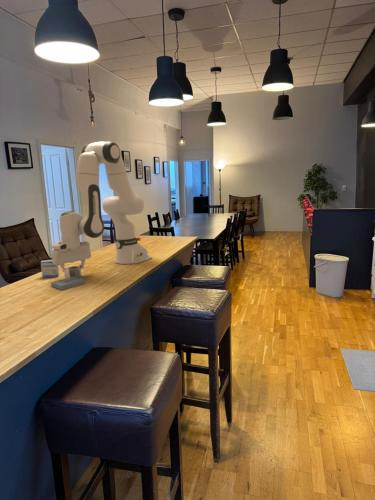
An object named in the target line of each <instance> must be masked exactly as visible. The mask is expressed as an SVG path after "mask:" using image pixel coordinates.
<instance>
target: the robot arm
mask: <svg viewBox="0 0 375 500" xmlns="http://www.w3.org/2000/svg"><path fill="white" fill-rule="evenodd" d="M101 164H102V165H103V164H104V169H105V175H106V179H107V185H108V187H109V189H111V191H113V192H115V193H116V194H117V195H112V196H108V197H105V198H104V199H103V201H102V199H101V198H102V197H101V190H100V165H101ZM76 185H77V188H78V189H79V190H80V191H81V192H82V193H83V194H84V195H85V197H86V199H87V200H86V201H87V216H86V215H83V214H80V213H78V212H77V211H75V210H70V211H64V212H63V213H61V214H60V215H59V230H60V233H61V236H60V241H58V242H55V243H54V244H52V246H51V247H52V248H51V249H52V251H51V260H52V263H53V264H55V265H58V266H60V267H61V269H62V272H63V273H64V270H66V269H67V268H68V267H65V265H66V264H68V263H69V264H70V263H74V262H79V261H80V262H81V263H80V264H79V265H78V266H80V267H81V270H82V269H84V268H85V266H84V265H85V263H86V260H87V259H91V257H92V252H91V249H90V247H91V246H90V245H91V244H90V242H89V241H86V240H84V241H81V239H80V236H81V235H83V236H87V237H89V238H91V239H97V238H98V237H100V236H102V235H103V233H104V232H105V231H104V230H105V222H104V221H103V218H102V217H103V216H102V211H104V213H106V214H107V215H108V216H109V217H110V219H111V220H112V223H113V224H114V225H113V226H114V230H115V231H114V232H115V247H116V253H115V254H116V255H115V261H114V262H115V263H116V264H121V265H122V264H123V265H128V264H139V263H142V262H145V261H147V260H150V259H153V257H152V256H151V255H149V254H148V250H147V248H146V247H144V246H143V245H142V244H140V243H139V242H140V241H141V240H142V238H141V237H136V234H135V225H134V223H133V222H132V221H130V220H129V219H128V218H127V215H128V216H130V215H131V216H134V215H138V214H141V213H142V212H143V211H144V207H145V203H144V200H143V198H142V197H140V196H139V195H138V194H137V193H136V192H134V190H133V189H132V187H131V185H130V182H129V178H128V175H127V170H126V165H125V162H124V159H123V157H122V155H121V148H120V147H119V145H118V144H117V143H116V142H114V141H104V140H103V141H95V142H89V143H85V144H84V145H83V146H82V149H81V154H80V155H79V156H78V162H77V166H76ZM101 201H102V202H101ZM102 209H103V210H102Z"/></svg>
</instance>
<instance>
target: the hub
mask: <svg viewBox="0 0 375 500" xmlns="http://www.w3.org/2000/svg"><path fill="white" fill-rule="evenodd" d="M66 268H67V269H69V274H70V277H73V276H75V277H78V278H82V277H83V275H82V269H81V267H80V266H79V265H73V266H69V267H66Z"/></svg>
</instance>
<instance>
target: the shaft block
mask: <svg viewBox="0 0 375 500" xmlns="http://www.w3.org/2000/svg"><path fill="white" fill-rule="evenodd" d="M63 274H64V278H62V279H59V280H53V281H51V282H50V283H51V284H50V285H51V287H53V288H56V289H57V290H60V291H64V290H68V289H71V288H74V287H79V286H81V285H85V284H86V281H85V279H84V278H82V277H80V278H78V277H75V276H73V277H70V274H69V269H66V270H64V272H63Z"/></svg>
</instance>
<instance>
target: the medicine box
mask: <svg viewBox="0 0 375 500" xmlns="http://www.w3.org/2000/svg"><path fill="white" fill-rule="evenodd" d="M40 268H41V276H42V279H49V278H57V277H59V275H60V272H59V265H55V264H53V263H52V259H47V260H41V261H40Z"/></svg>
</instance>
